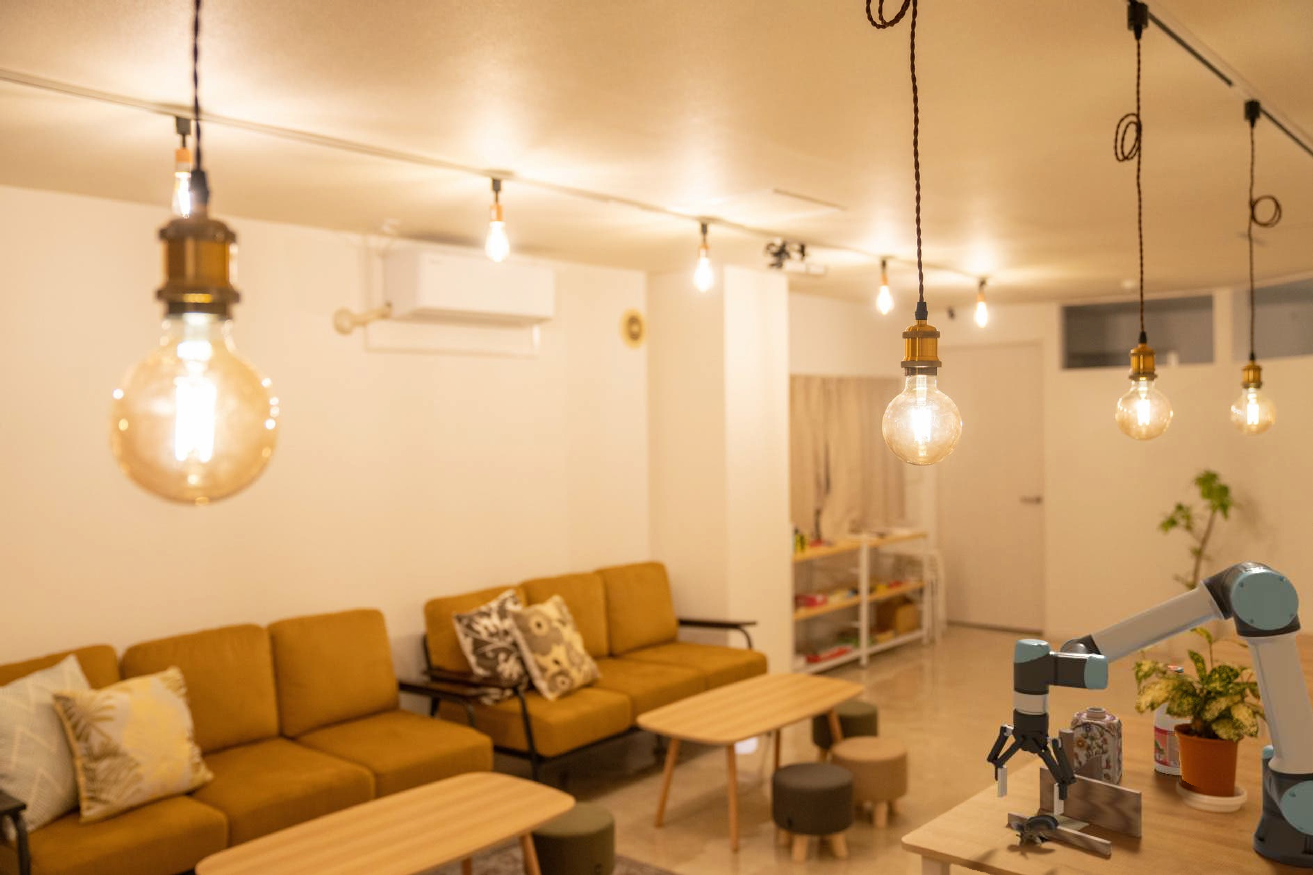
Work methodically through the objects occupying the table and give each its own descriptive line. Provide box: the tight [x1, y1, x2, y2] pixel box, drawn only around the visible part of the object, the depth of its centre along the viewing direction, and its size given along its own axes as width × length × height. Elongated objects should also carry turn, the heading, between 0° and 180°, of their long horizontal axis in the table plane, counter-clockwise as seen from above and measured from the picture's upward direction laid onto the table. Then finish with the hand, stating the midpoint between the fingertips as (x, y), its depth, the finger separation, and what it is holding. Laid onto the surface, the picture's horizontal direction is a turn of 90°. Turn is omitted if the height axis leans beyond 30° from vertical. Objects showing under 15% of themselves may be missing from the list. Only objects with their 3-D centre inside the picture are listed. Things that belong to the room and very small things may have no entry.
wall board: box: [1007, 765, 1143, 856], centre depth 237 cm, size 24×16×10 cm, turn 40°
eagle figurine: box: [1010, 813, 1059, 847], centre depth 230 cm, size 8×7×9 cm
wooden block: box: [1058, 728, 1102, 781], centre depth 251 cm, size 4×11×18 cm, turn 32°
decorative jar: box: [1069, 706, 1123, 785], centre depth 273 cm, size 12×12×18 cm
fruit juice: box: [1153, 665, 1190, 775], centre depth 276 cm, size 9×9×28 cm
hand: (1029, 804), depth 229 cm, fingers open, 13 cm apart
